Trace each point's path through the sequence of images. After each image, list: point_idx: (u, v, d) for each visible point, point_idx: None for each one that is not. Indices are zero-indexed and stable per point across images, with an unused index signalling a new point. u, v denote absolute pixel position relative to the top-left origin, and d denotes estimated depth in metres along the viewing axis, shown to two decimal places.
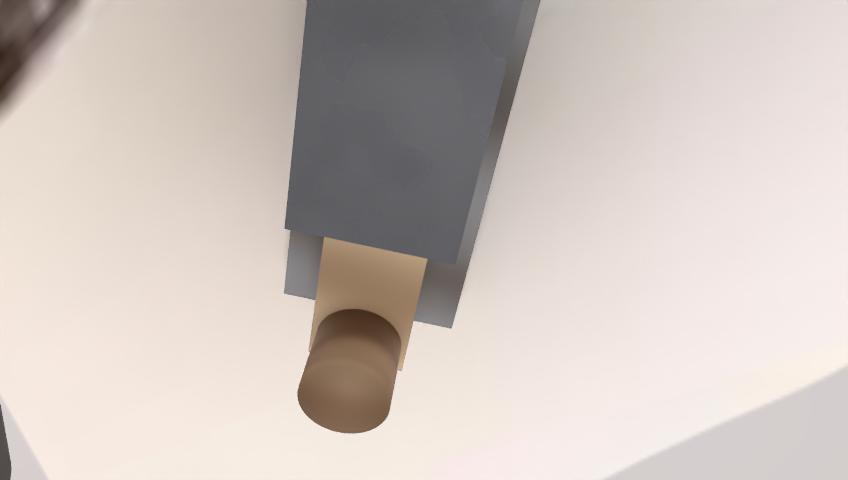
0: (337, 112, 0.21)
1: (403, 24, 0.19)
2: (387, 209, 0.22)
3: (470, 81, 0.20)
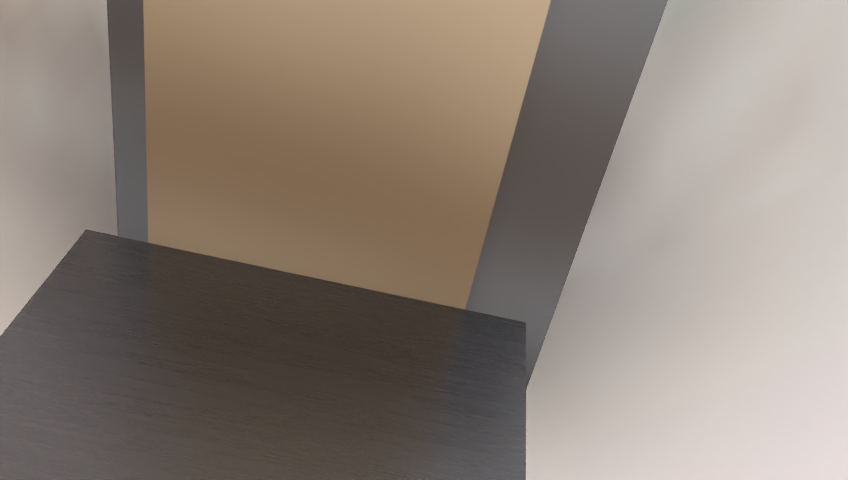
0: None
1: None
2: None
3: None
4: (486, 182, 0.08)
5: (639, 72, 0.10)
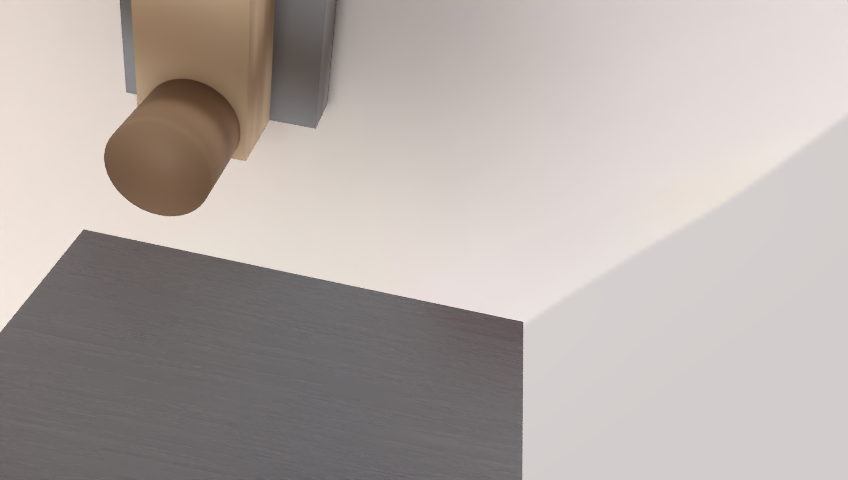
0: None
1: None
2: None
3: None
4: None
5: None
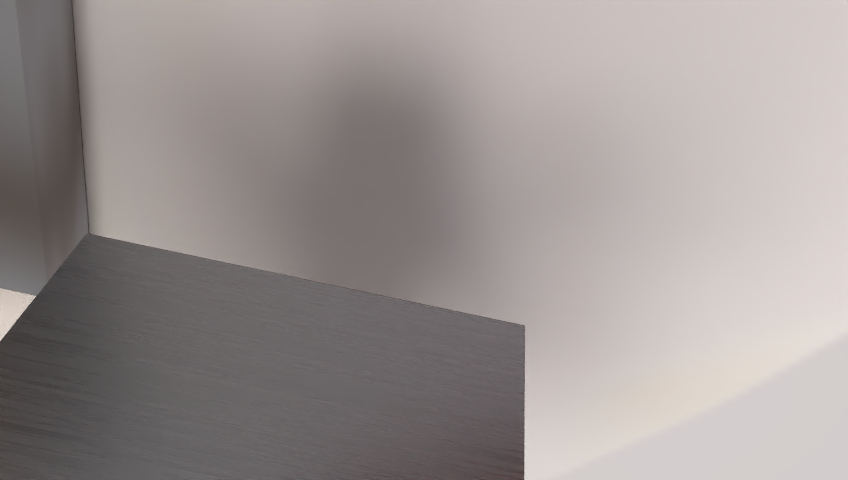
0: None
1: None
2: None
3: None
4: None
5: None
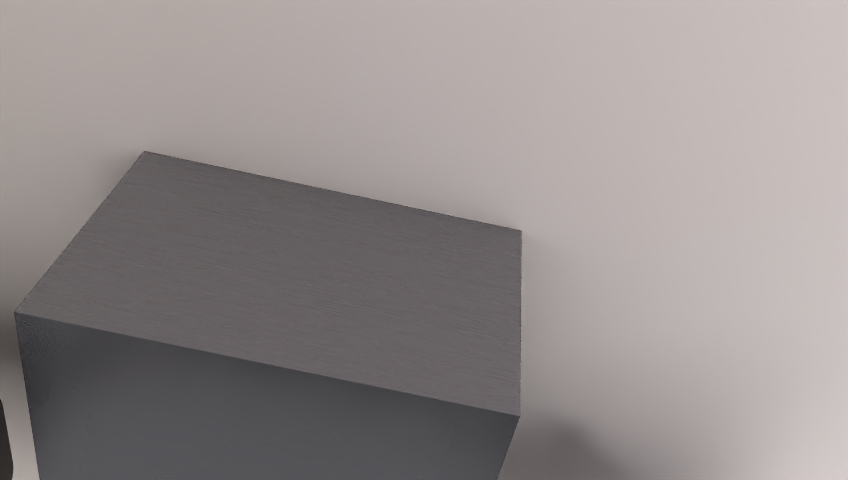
0: None
1: (246, 450, 0.09)
2: None
3: None
4: None
5: None
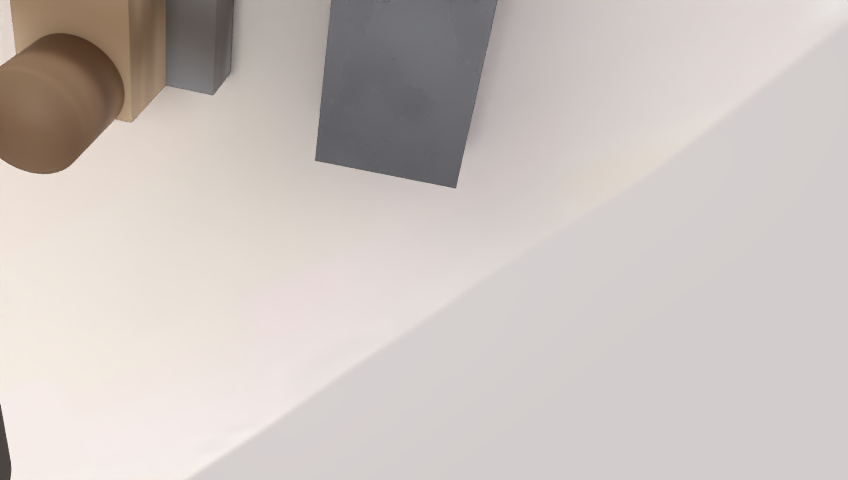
0: (358, 59, 0.26)
1: None
2: (399, 141, 0.27)
3: (465, 31, 0.25)
4: None
5: None
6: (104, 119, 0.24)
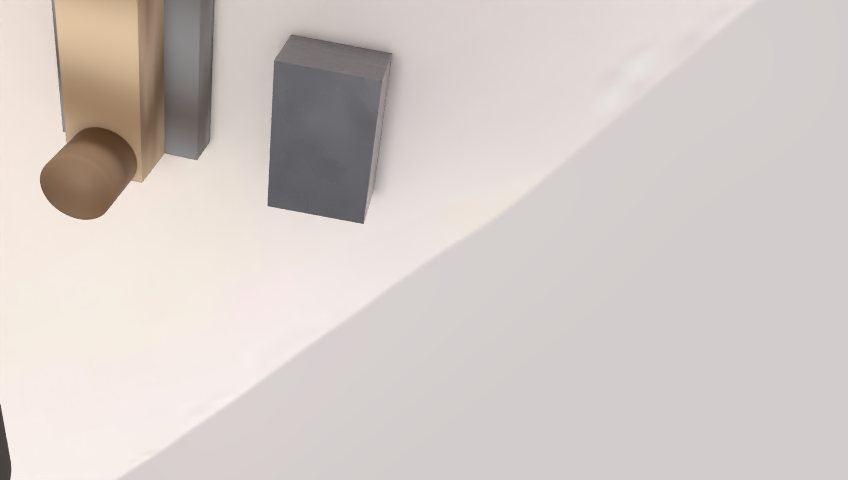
0: (291, 141, 0.39)
1: (322, 96, 0.38)
2: (323, 193, 0.41)
3: (360, 124, 0.38)
4: None
5: None
6: (124, 183, 0.38)
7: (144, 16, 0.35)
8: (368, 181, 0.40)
